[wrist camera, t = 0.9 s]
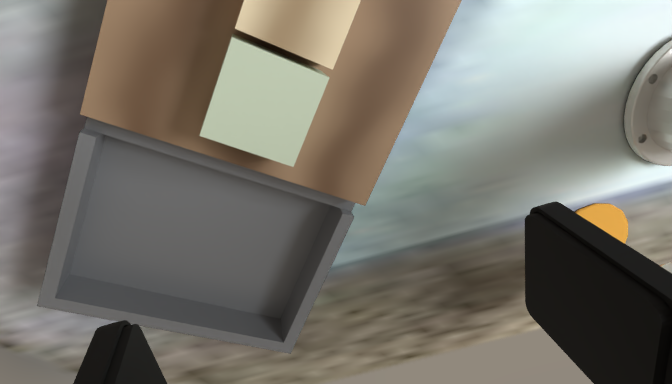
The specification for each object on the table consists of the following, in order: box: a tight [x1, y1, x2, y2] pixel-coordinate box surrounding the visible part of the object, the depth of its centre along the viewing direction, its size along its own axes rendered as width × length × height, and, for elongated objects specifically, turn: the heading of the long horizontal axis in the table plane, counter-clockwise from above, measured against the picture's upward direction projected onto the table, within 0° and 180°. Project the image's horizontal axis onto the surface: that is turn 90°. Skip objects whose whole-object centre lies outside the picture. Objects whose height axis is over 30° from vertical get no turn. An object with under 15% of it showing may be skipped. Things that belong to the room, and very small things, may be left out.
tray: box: [37, 117, 355, 354], centre depth 36 cm, size 20×15×4 cm
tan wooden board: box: [80, 0, 461, 206], centre depth 31 cm, size 20×18×5 cm
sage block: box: [199, 34, 329, 167], centre depth 28 cm, size 6×6×3 cm
